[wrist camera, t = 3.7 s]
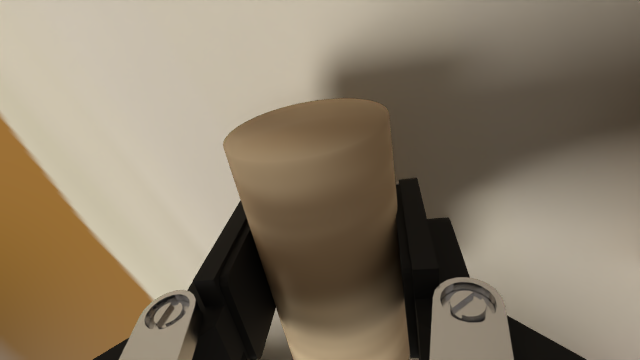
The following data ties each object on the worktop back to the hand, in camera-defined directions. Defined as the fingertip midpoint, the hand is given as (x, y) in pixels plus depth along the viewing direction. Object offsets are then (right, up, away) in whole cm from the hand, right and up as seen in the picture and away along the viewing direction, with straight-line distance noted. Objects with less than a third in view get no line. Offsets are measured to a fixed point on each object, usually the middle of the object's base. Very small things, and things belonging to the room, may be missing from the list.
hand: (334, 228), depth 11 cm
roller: (0, 0, +1) cm, 1 cm away
